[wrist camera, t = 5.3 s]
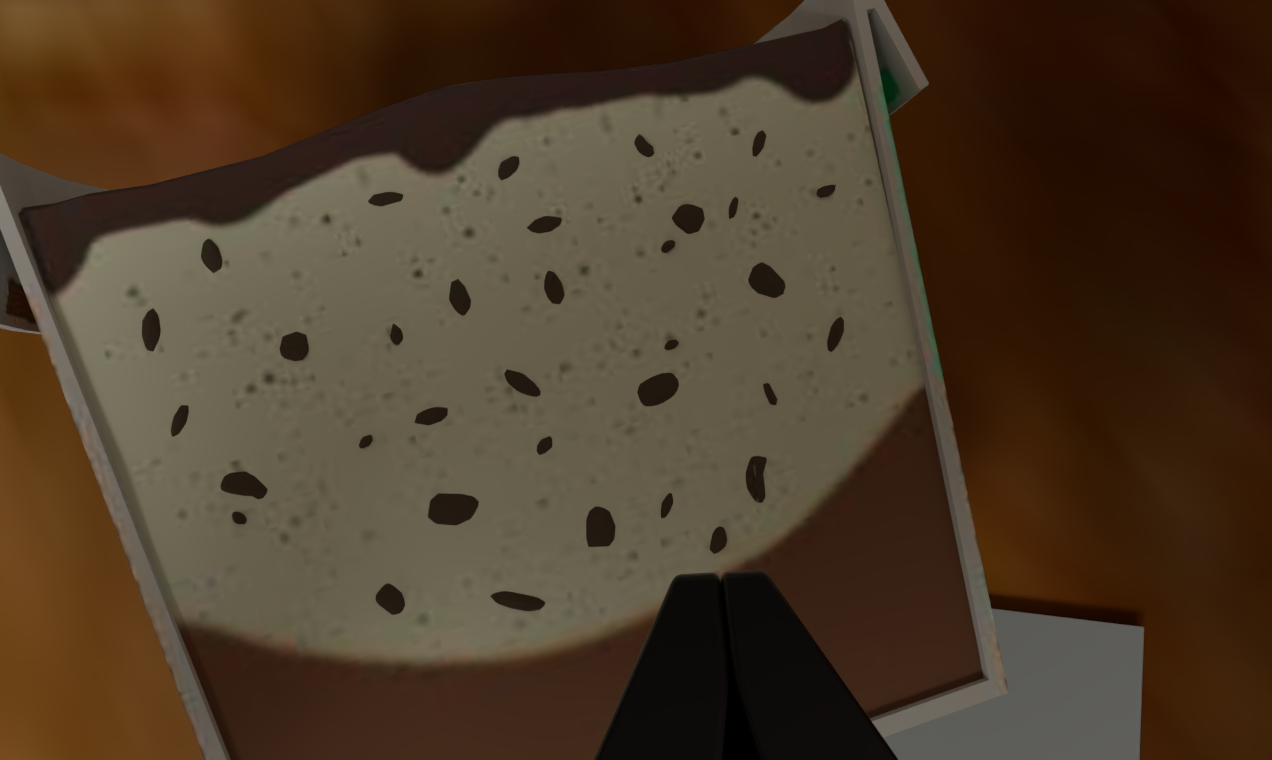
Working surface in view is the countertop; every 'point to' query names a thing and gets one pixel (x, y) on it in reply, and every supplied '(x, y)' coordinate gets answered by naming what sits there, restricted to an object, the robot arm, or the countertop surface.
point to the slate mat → (1046, 697)
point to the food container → (521, 398)
